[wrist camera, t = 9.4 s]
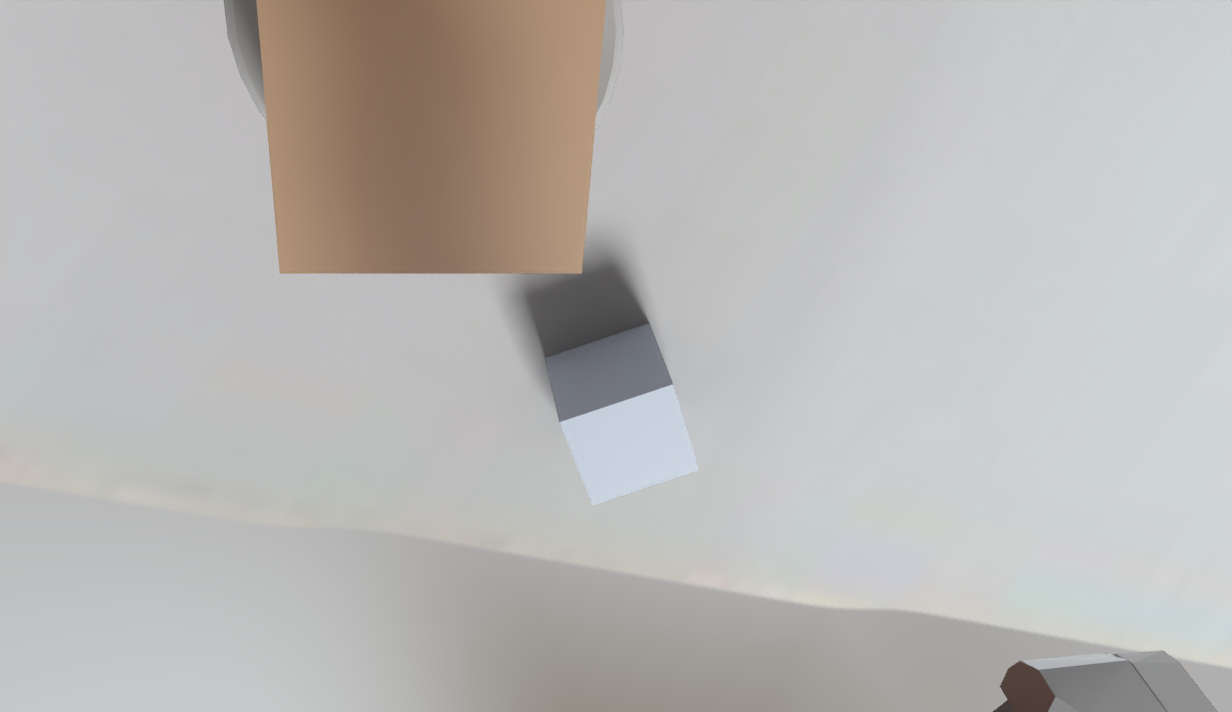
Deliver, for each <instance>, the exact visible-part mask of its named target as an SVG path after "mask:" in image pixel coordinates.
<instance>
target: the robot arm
mask: <svg viewBox="0 0 1232 712" xmlns="http://www.w3.org/2000/svg"><path fill="white" fill-rule="evenodd" d="M1000 687H1001V689H1002V691H1003V693H1004V695H1005V696H1006V698H1007V701H1006V702H1004V703H1003V704H1002V705H1001V706H999V707H998V708H997V709H996V710H994V711H993V712H1218V711H1217V710H1216V709H1215V708H1214V706H1213V705H1212V704H1211V702H1210V701H1209V700H1208V698H1207V697H1206V696H1205V695H1204V693H1203V692H1202V691H1201V690H1200V688H1199V687H1198V686H1197V684H1196V683H1195V682H1194V680H1193V679H1192V678H1191V677H1190V675H1189V674H1188V673H1187V671H1186V670H1185V669H1184V668H1183V666H1182V665H1181V664H1180V663H1179V662H1178V661H1177V660H1176V659H1175V658H1174V657H1172V656H1170V655H1169V654H1167V653H1166V652H1164V651H1143V652H1131V653H1119V654H1111V655H1110V654H1108V653H1102V654H1089V655H1080V656H1079V655H1078V656H1067V657H1055V658H1044V659H1032V660H1021V661H1019V662H1017V663H1016V664H1014V665H1013V666H1011V667H1010V668H1009V669H1008V670H1007V672H1006V674H1005V677H1004V679H1003V681H1002V683H1001V685H1000Z"/></svg>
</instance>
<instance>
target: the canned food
mask: <svg viewBox="0 0 1232 712" xmlns="http://www.w3.org/2000/svg"><path fill="white" fill-rule="evenodd" d="M224 6H225V15H226V24H227V33H228V39H229V42H230V45H231V48H232V51H233V54H234V58H235V61H236V64H237V67H238V70H239V73H240V76H241V78H242V80H243V82H244V84H245V86H246V87H247V89H248V91H249V93H250V95H251V97H252V99H253V101H254V103H255V104H256V106H257V108H258V110H259V112H260V113H261V114H262V116H263V117H264V118H265V119H266V121H267V118H266V107H265V95H264V83H263V72H262V60H261V49H260V37H259V25H258V14H257V2H256V0H224ZM623 33H624V27H623V17H622V6H621V0H606V9H605V20H604V31H603V42H602V54H601V65H600V76H599V87H598V98H597V109H596V120H595V130H596V128H597V127H598V125H599V123H600V121H601V119H602V117H603V115H604V113H605V111H606V109H607V107H608V105H609V103H610V101H611V98H612V94H613V91H614V87H615V84H616V80H617V77H618V74H619V70H620V66H621V55H622V44H623ZM594 132H595V131H594Z"/></svg>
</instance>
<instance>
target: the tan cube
mask: <svg viewBox="0 0 1232 712" xmlns="http://www.w3.org/2000/svg"><path fill="white" fill-rule="evenodd" d="M256 2H257V14H258V25H259V37H260V49H261V60H262V72H263V83H264V95H265V107H266V118H267V130H268V141H269V153H270V165H271V176H272V188H273V199H274V211H275V223H276V234H277V246H278V258H279V269H280V273H582V265H583V254H584V243H585V231H586V220H587V209H588V198H589V187H590V176H591V165H592V154H593V143H594V131H595V120H596V109H597V98H598V87H599V76H600V65H601V54H602V42H603V31H604V20H605V9H606V0H256Z"/></svg>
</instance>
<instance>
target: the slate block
mask: <svg viewBox="0 0 1232 712" xmlns="http://www.w3.org/2000/svg"><path fill="white" fill-rule="evenodd" d="M545 359H546V364H547V368H548V373H549V378H550V382H551V387H552V391H553V396H554V400H555V405H556V409H557V414H558V418H559V423H560V425H561V428H562V430H563V433H564V435H565V438H566V440H567V443H568V445H569V448H570V450H571V453H572V455H573V458H574V460H575V463H576V465H577V468H578V470H579V473H580V475H581V478H582V480H583V483H584V485H585V488H586V490H587V493H588V495H589V498H590V500H591V503H592V505H595V504H598V503H601V502H604V501H607V500H610V499H613V498H616V497H619V496H622V495H625V494H628V493H631V492H634V491H637V490H640V489H643V488H646V487H649V486H652V485H655V484H658V483H661V482H664V481H667V480H670V479H673V478H676V477H679V476H682V475H685V474H688V473H691V472H694V471H697V470H699V467H698V464H697V461H696V457H695V454H694V451H693V447H692V444H691V441H690V438H689V434H688V431H687V428H686V425H685V421H684V418H683V415H682V412H681V408H680V405H679V402H678V399H677V395H676V392H675V389H674V385H673V383H672V380H671V378H670V375H669V372H668V370H667V367H666V365H665V362H664V360H663V357H662V354H661V352H660V349H659V347H658V344H657V341H656V339H655V336H654V334H653V331H652V329H651V326H650V323H647V324H644V325H641V326H638V327H635V328H632V329H629V330H626V331H623V332H620V333H617V334H614V335H611V336H608V337H605V338H602V339H600V340H597V341H594V342H591V343H588V344H585V345H582V346H579V347H576V348H573V349H570V350H567V351H564V352H561V353H558V354H555V355H552V356H549V357H546V358H545Z"/></svg>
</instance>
